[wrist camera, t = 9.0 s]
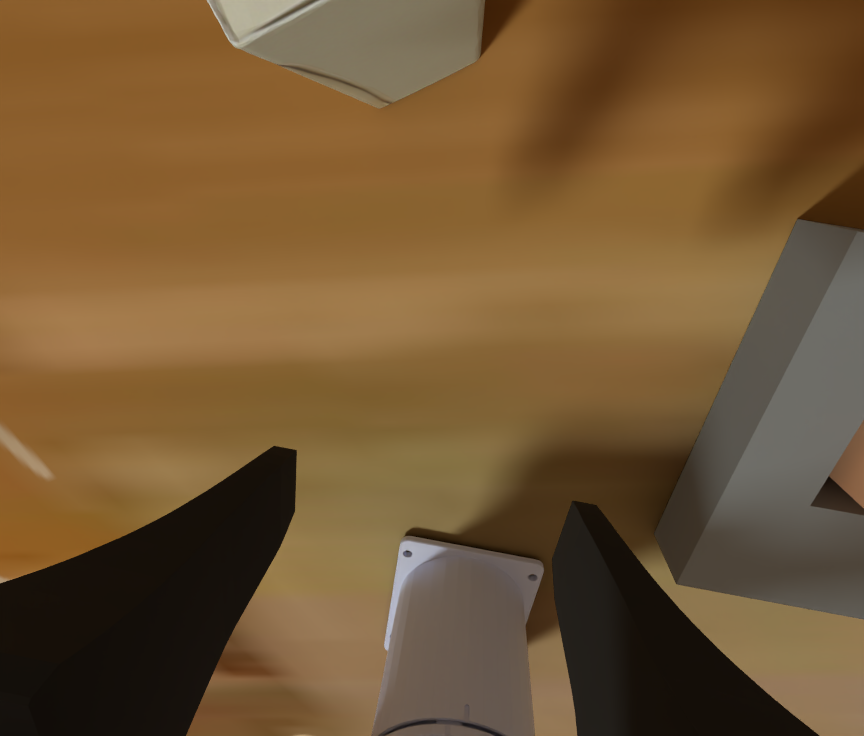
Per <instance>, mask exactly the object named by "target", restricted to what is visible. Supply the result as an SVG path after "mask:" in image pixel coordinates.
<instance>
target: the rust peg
mask: <svg viewBox="0 0 864 736" xmlns="http://www.w3.org/2000/svg"><path fill="white" fill-rule="evenodd" d="M829 477H830V478H832V479H833V480H834V481H835V482H836V483H837V484H838V485H839V486H840V487H841V488H842V489H843V490H844V491H845V492H847V493H848V494H849V495H850V496H851V497H852V498H853V499H854V500H855V501H856V502H857V503H858V504H859V505H861V506H862V507H863V508H864V420H863V422H862V423H861V425H860V427H859V428H858V430H857V431H856V433H855V435H854V436H853V438H852V439H851V441H850V443H849V444H848V446H847V447H846V449H845V451H844V452H843V454H842V456H841V457H840V459H839V460H838V462H837V464H836V465H835V467H834V468H833V470H832V472H831V473H830V475H829Z"/></svg>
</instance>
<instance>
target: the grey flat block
mask: <svg viewBox="0 0 864 736" xmlns="http://www.w3.org/2000/svg"><path fill="white" fill-rule="evenodd" d="M863 420H864V230H863V229H856V228H850V227H844V226H838V225H832V224H826V223H819V222H813V221H807V220H801V219H797V221H796V223H795V226H794V228H793V230H792V232H791V234H790V237H789V239H788V241H787V243H786V245H785V248H784V250H783V252H782V254H781V256H780V259H779V261H778V263H777V265H776V267H775V269H774V272H773V274H772V276H771V278H770V280H769V283H768V285H767V287H766V289H765V291H764V294H763V296H762V298H761V300H760V302H759V305H758V307H757V309H756V311H755V313H754V315H753V318H752V320H751V322H750V324H749V326H748V329H747V331H746V333H745V335H744V337H743V340H742V342H741V344H740V346H739V348H738V351H737V353H736V355H735V357H734V359H733V361H732V364H731V366H730V368H729V370H728V372H727V375H726V377H725V379H724V381H723V383H722V386H721V388H720V390H719V392H718V394H717V397H716V399H715V401H714V403H713V405H712V408H711V410H710V412H709V414H708V416H707V418H706V421H705V423H704V425H703V427H702V429H701V432H700V434H699V436H698V438H697V440H696V443H695V445H694V447H693V449H692V451H691V454H690V456H689V458H688V460H687V462H686V464H685V467H684V469H683V471H682V473H681V475H680V478H679V480H678V482H677V484H676V486H675V489H674V491H673V493H672V495H671V497H670V500H669V502H668V504H667V506H666V508H665V510H664V513H663V515H662V517H661V519H660V521H659V524H658V526H657V528H656V530H655V532H654V535H655V537H656V540H657V542H658V544H659V546H660V549H661V551H662V553H663V555H664V558H665V560H666V562H667V564H668V567H669V569H670V571H671V573H672V576H673V578H674V580H675V582H676V584H678V585H683V586H688V587H694V588H699V589H704V590H710V591H715V592H720V593H726V594H731V595H736V596H742V597H747V598H752V599H758V600H763V601H768V602H774V603H779V604H784V605H790V606H795V607H800V608H806V609H811V610H816V611H821V612H827V613H832V614H837V615H843V616H848V617H853V618H859V619H864V508H863V507H862V506H861V505H859V504H858V503H857V502H856V501H855V500H854V499H853V498H852V497H851V496H850V495H849V494H848V493H847V492H845V491H844V490H843V489H842V488H841V487H840V486H839V485H838V484H837V483H836V482H835V481H834V480H833V479H832V478H830V477H829V475H830V473H831V472H832V470H833V468H834V467H835V465H836V464H837V462H838V460H839V459H840V457H841V456H842V454H843V452H844V451H845V449H846V447H847V446H848V444H849V443H850V441H851V439H852V438H853V436H854V435H855V433H856V431H857V430H858V428H859V427H860V425H861V423H862V422H863Z"/></svg>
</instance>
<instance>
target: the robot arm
mask: <svg viewBox="0 0 864 736" xmlns="http://www.w3.org/2000/svg"><path fill="white" fill-rule="evenodd" d="M296 456H297V450H293V449H288V448H282V447H277V446H273V447H272V448H270V449H269V450H267V451H266V452H264V453H263V454H261V455H260V456H258V457H257V458H255V459H254V460H252V461H251V462H249V463H248V464H246V465H245V466H244V467H242V468H241V469H239V470H238V471H236V472H235V473H233V474H232V475H230V476H229V477H227V478H226V479H224V480H223V481H221V482H220V483H218V484H217V485H215V486H214V487H212V488H211V489H209V490H207V491H206V492H204V493H203V494H201V495H199V496H198V497H196V498H194V499H193V500H191V501H189V502H188V503H186V504H184V505H183V506H181V507H179V508H177V509H176V510H174V511H172V512H170V513H169V514H167V515H165V516H163V517H161V518H159V519H157V520H156V521H154V522H152V523H150V524H148V525H146V526H144V527H142V528H140V529H138V530H136V531H134V532H131V533H129V534H127V535H125V536H123V537H121V538H119V539H116V540H114V541H111V542H109V543H107V544H104V545H102V546H100V547H97V548H95V549H93V550H90V551H88V552H86V553H83V554H81V555H79V556H76V557H74V558H71V559H69V560H66V561H63V562H61V563H58V564H55V565H53V566H50V567H47V568H45V569H42V570H39V571H36V572H33V573H30V574H27V575H24V576H21V577H19V578H16V579H13V580H9V581H6V582H3V583H0V736H186V734H187V732H188V729H189V727H190V725H191V722H192V720H193V718H194V715H195V713H196V711H197V709H198V706H199V704H200V702H201V699H202V697H203V695H204V692H205V690H206V688H207V685H208V683H209V681H210V679H211V677H212V674H213V672H214V670H215V668H216V665H217V663H218V661H219V659H220V657H221V654H222V652H223V650H224V648H225V645H226V643H227V641H228V640H229V638H230V636H231V634H232V632H233V630H234V628H235V626H236V624H237V622H238V621H239V619H240V617H241V615H242V614H243V612H244V610H245V608H246V607H247V605H248V603H249V601H250V600H251V598H252V596H253V594H254V592H255V591H256V589H257V587H258V585H259V584H260V582H261V580H262V578H263V577H264V575H265V573H266V571H267V569H268V568H269V566H270V564H271V562H272V561H273V559H274V557H275V555H276V553H277V551H278V550H279V548H280V546H281V544H282V541H283V539H284V537H285V534H286V532H287V529H288V527H289V524H290V522H291V519H292V517H293V514H294V512H295V491H296ZM406 550H408V551H411V552H407V551H406ZM552 566H553V584H554V598H555V604H556V610H557V615H558V620H559V626H560V631H561V636H562V642H563V647H564V652H565V657H566V663H567V668H568V673H569V678H570V684H571V689H572V695H573V701H574V708H575V715H576V726H577V736H819V735H818V734H817V733H815V732H814V731H813V730H812V729H810V728H809V727H808V726H807V725H805V724H804V723H803V722H802V721H800V720H799V719H798V718H796V717H795V716H794V715H793V714H791V713H790V712H789V711H788V710H787V709H785V708H784V707H783V706H782V705H781V704H779V703H778V702H777V701H776V700H775V699H773V698H772V697H771V696H770V695H769V694H768V693H766V692H765V691H764V690H763V689H762V688H761V687H760V686H758V685H757V684H756V683H755V682H754V681H753V680H752V679H751V678H749V677H748V676H747V675H746V674H745V673H744V672H743V671H742V670H740V669H739V668H738V667H737V666H736V665H735V664H734V663H733V662H732V661H731V660H730V659H729V658H727V657H726V656H725V655H724V654H723V653H722V652H721V651H720V650H719V649H718V648H717V647H716V646H715V645H714V644H713V643H712V642H711V641H710V640H709V639H708V638H707V637H706V636H705V635H704V634H703V633H702V632H701V631H700V630H699V629H698V628H697V627H696V626H695V625H694V624H693V623H692V622H691V621H690V620H689V618H688V617H687V616H686V615H685V614H684V613H683V612H682V611H681V610H680V609H679V608H678V606H677V605H676V604H675V603H674V602H673V601H672V600H671V599H670V597H669V596H668V595H667V594H666V593H665V592H664V591H663V589H662V588H661V587H660V586H659V585H658V584H657V582H656V581H655V580H654V579H653V578H652V576H651V575H650V574H649V573H648V571H647V570H646V569H645V568H644V567H643V565H642V564H641V563H640V561H639V560H638V559H637V558H636V556H635V555H634V554H633V553H632V551H631V550H630V549H629V547H628V546H627V545H626V543H625V542H624V541H623V539H622V538H621V537H620V535H619V534H618V533H617V532H616V530H615V529H614V528H613V526H612V525H611V523H610V522H609V521H608V519H607V518H606V517H605V516H604V514H603V513H602V512H601V510H600V509H599V508H598V506H597V505H593V504H588V503H582V502H577V501H572V504H571V506H570V509H569V512H568V515H567V518H566V521H565V524H564V526H563V529H562V532H561V535H560V538H559V541H558V544H557V547H556V549H555V552H554V555H553V558H552ZM543 573H544V566H543V563H542V562H541V561H539V560H536V559H531V558H525V557H520V556H515V555H509V554H504V553H499V552H494V551H488V550H483V549H478V548H472V547H467V546H462V545H456V544H451V543H446V542H440V541H435V540H430V539H424V538H419V537H414V536H405V537H403V538H402V539H401V543H400V548H399V554H398V561H397V567H396V573H395V580H394V586H393V592H392V599H391V605H390V611H389V618H388V624H387V630H386V637H385V643H384V647H385V649H386V650H387V651H388V653H387V658H386V664H385V669H384V674H383V679H382V684H381V689H380V694H379V699H378V705H377V710H376V715H375V720H374V725H373V730H372V735H371V736H535V729H534V717H533V706H532V694H531V683H530V671H529V660H528V648H527V637H526V623H527V620H528V617H529V614H530V611H531V608H532V605H533V602H534V599H535V596H536V594H537V591H538V588H539V585H540V582H541V579H542V576H543ZM531 574H535V575H531Z"/></svg>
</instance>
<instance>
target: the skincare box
mask: <svg viewBox="0 0 864 736" xmlns="http://www.w3.org/2000/svg"><path fill="white" fill-rule="evenodd" d="M207 2H208V3H209V5H210V7H211V9H212V10H213V12H214V14H215V16H216V18H217V19H218V21H219V23H220V24H221V27H222V29H223V31H224V33H225V35H226V36H227V38H228V39H229V41H230V42H231V44H232V45H233V46H235V47H236V48H238V49H242V50H244V51H246V52H248V53H250V54H252V55H255V56H258V57H260V58H262V59H265V60H267V61H270V62H273V63H275V64H277V65H279V66H282V67H284V68H286V69H288V70H291V71H293V72H295V73H297V74H299V75H302V76H304V77H307V78H309V79H311V80H313V81H316V82H318V83H320V84H323V85H325V86H328V87H330V88H332V89H335V90H337V91H339V92H341V93H344V94H346V95H348V96H351V97H353V98H355V99H358V100H360V101H362V102H365V103H367V104H369V105H371V106H374V107H376V108H382V107H385V106H387V105H389V104H391V103H393V102H395V101H397V100H399V99H402V98H404V97H406V96H408V95H410V94H413V93H415V92H417V91H419V90H421V89H423V88H425V87H427V86H429V85H431V84H433V83H435V82H437V81H439V80H441V79H443V78H445V77H447V76H449V75H451V74H453V73H455V72H457V71H459V70H461V69H462V68H464V67H466V66H468V65H470V64H472V63H474V62H476V61H477V60H478V59H479V58H480V54H481V43H482V31H483V19H484V7H485V0H207Z"/></svg>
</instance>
